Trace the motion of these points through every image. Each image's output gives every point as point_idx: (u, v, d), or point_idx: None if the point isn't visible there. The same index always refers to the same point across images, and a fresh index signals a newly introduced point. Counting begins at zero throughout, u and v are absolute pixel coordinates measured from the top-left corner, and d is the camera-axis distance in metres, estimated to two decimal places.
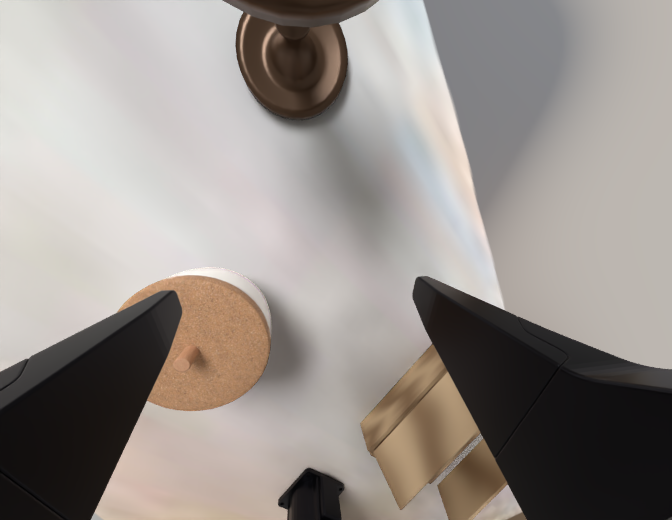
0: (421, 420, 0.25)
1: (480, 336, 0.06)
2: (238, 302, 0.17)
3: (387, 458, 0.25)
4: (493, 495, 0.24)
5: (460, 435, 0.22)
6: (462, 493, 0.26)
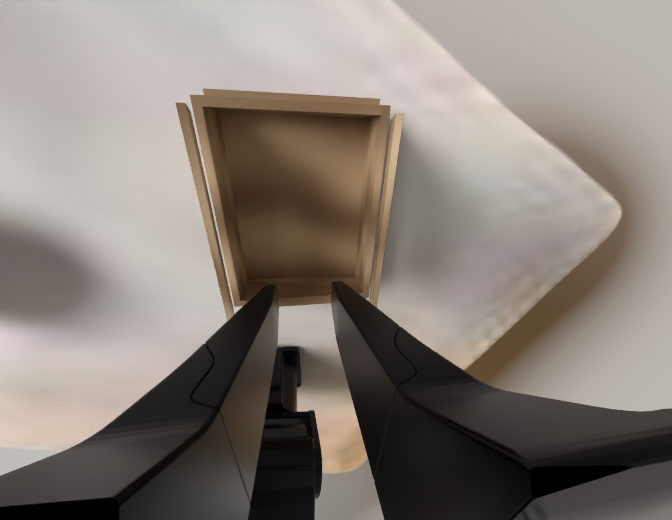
0: None
1: (359, 348, 0.06)
2: None
3: None
4: (379, 260, 0.12)
5: None
6: (372, 286, 0.16)
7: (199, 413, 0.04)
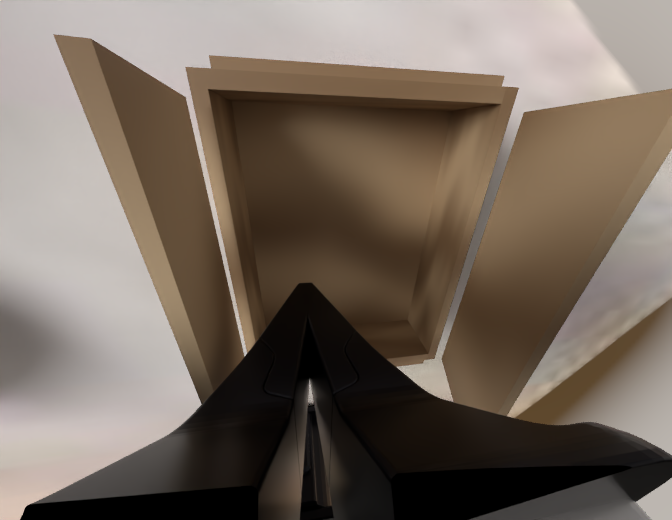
0: None
1: (313, 352, 0.06)
2: None
3: None
4: (531, 362, 0.07)
5: None
6: (471, 368, 0.10)
7: (276, 404, 0.04)
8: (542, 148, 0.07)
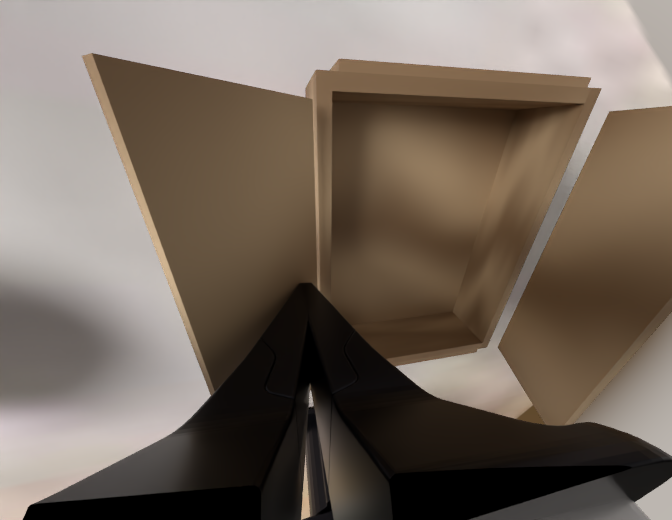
0: None
1: (313, 352, 0.06)
2: None
3: None
4: (638, 341, 0.08)
5: None
6: (547, 353, 0.11)
7: (278, 404, 0.04)
8: (640, 145, 0.08)
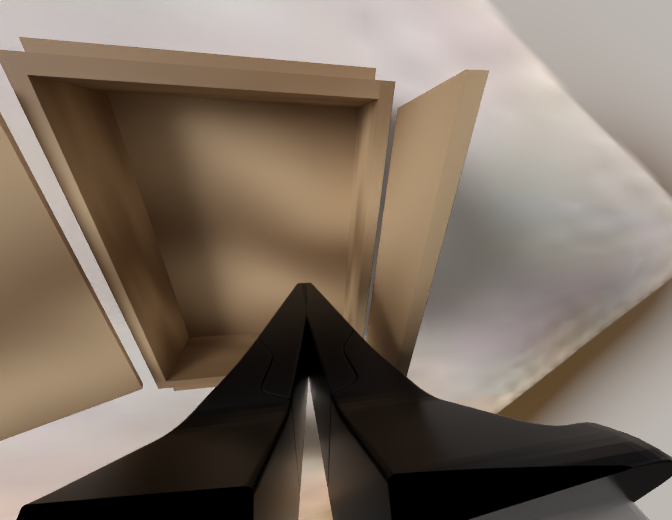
0: None
1: (312, 352, 0.06)
2: None
3: None
4: None
5: None
6: None
7: (274, 405, 0.04)
8: (403, 147, 0.06)
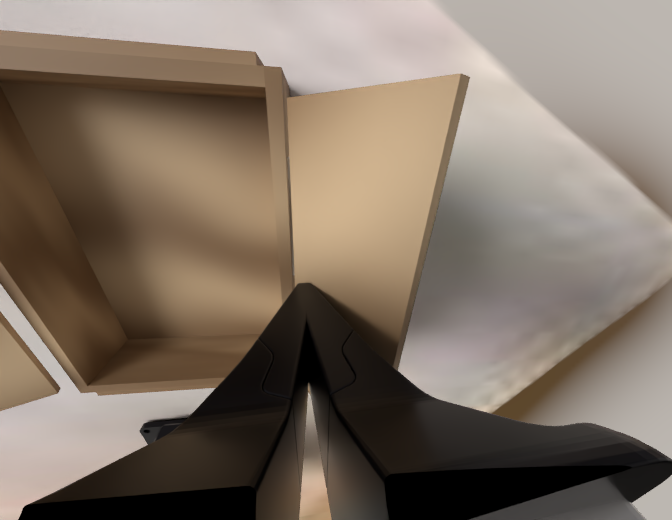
0: None
1: (311, 352, 0.06)
2: None
3: None
4: None
5: None
6: None
7: (275, 404, 0.04)
8: (324, 142, 0.06)
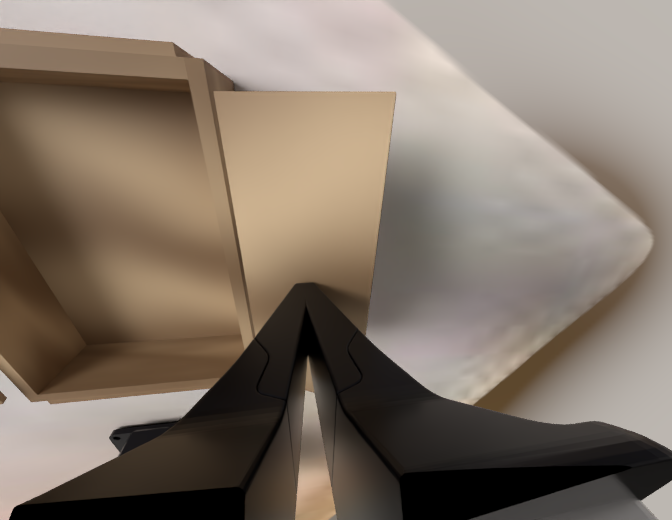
0: None
1: (316, 352, 0.06)
2: None
3: None
4: (368, 307, 0.09)
5: None
6: None
7: (269, 405, 0.04)
8: (276, 136, 0.07)
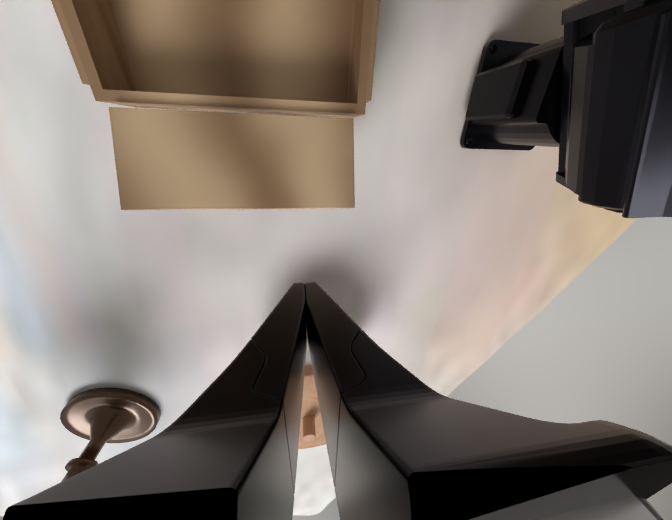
0: None
1: (319, 352, 0.06)
2: None
3: None
4: None
5: None
6: None
7: (265, 405, 0.04)
8: None
